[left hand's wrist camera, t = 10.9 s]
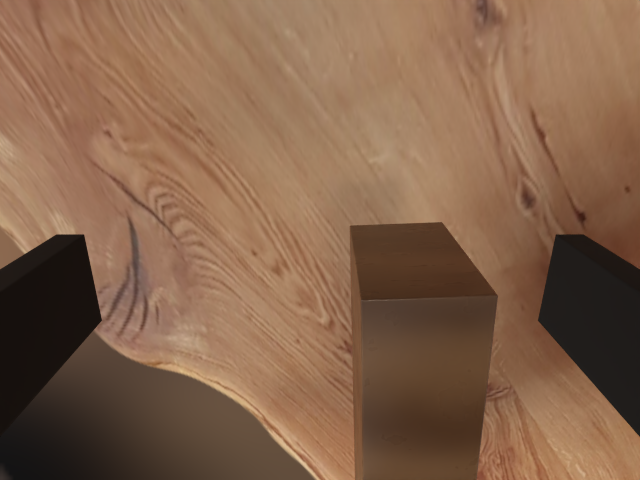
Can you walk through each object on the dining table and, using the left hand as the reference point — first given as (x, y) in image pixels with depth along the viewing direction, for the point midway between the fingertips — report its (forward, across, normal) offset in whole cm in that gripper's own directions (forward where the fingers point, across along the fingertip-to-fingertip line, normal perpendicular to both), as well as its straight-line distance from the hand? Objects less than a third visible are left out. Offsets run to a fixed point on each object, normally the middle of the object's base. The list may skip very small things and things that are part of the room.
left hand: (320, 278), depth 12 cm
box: (+17, +6, -17) cm, 25 cm away
